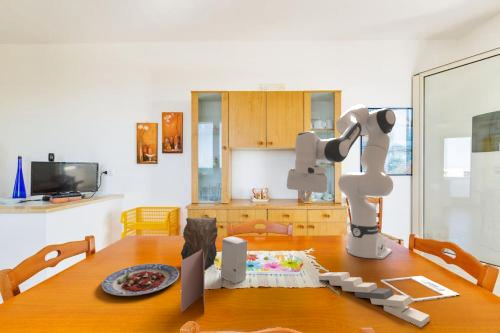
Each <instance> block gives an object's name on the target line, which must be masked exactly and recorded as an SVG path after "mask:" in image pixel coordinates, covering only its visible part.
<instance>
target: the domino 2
mask: <svg viewBox="0 0 500 333" xmlns="http://www.w3.org/2000/svg"><path fill="white" fill-rule="evenodd" d="M328 281H329V285H330V286H335V287H336V286H338V287H339V286H340V287H341V286H356V285H358V284H360V283H364V282H363V278H362V277H357V276H356V277H355V276H354V277H353V276H350V277H349V278H346V279H344V280H341V281H339V280H328Z"/></svg>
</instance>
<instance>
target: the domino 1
mask: <svg viewBox="0 0 500 333" xmlns="http://www.w3.org/2000/svg"><path fill="white" fill-rule="evenodd" d="M349 277H351V276H350V272H348V271H347V272H346V271H343V272H342V271H339V272H337V271H336V272H333V271H332V272H331V271H330V272H328V271H327V272H325V273H322V274H318V279H319V281H329V280H339V281H341V280H344V279H346V278H349Z"/></svg>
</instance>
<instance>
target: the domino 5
mask: <svg viewBox="0 0 500 333" xmlns="http://www.w3.org/2000/svg"><path fill="white" fill-rule="evenodd" d="M412 298H413V297H412V296H411V295H408V296H405V295H402V294H393V295H392V296H390V297H388V298H386V299H373V298H369V299H370V302H371V305H378V306H379V305H380V306H384V305H387V306H397V307H405V306H408V305H411V304H412V303H414V302H413V301H412Z"/></svg>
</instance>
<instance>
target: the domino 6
mask: <svg viewBox="0 0 500 333" xmlns="http://www.w3.org/2000/svg"><path fill="white" fill-rule="evenodd" d="M383 311H385V312H387V313H389V314H392V315H393V316H396V317H397V318H400V319H402V320H404V321H406V322H408V323H410V322H411V323H410V324H412V323H413V325H415V324H416V325H415V326H417V325H418V326H417V327H419V328H423V327H424V326H425V325H427V324H428V323H429V322H430V315H429V314H427V313H425V312H422V311H420V310H417V309H415V308H412V307H411V306H408V305H407V306H405V307H397V306H387V305H383ZM427 322H428V323H427ZM422 326H423V327H422Z"/></svg>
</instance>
